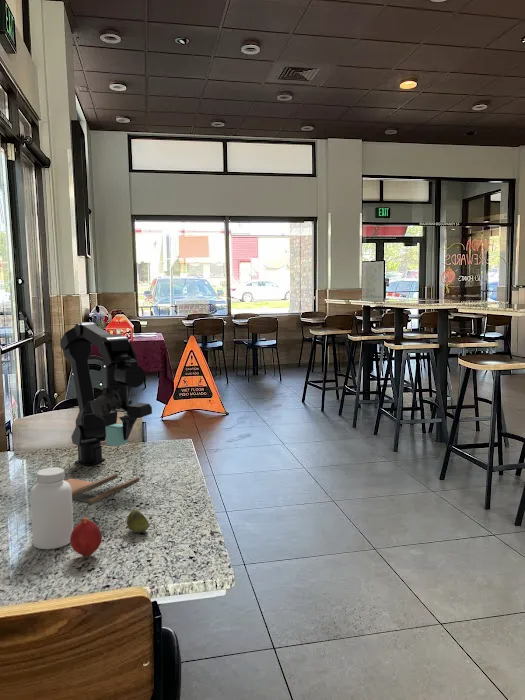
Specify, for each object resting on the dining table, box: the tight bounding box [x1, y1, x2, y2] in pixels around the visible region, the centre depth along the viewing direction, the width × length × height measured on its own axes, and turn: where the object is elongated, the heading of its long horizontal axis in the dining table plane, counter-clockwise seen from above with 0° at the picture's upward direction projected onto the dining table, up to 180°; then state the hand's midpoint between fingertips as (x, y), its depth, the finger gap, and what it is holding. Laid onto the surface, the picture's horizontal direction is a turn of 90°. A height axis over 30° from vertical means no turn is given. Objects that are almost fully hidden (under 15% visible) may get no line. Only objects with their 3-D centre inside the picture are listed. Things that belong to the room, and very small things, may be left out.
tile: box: [65, 478, 94, 492], centre depth 146 cm, size 8×8×1 cm
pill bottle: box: [29, 467, 74, 550], centre depth 114 cm, size 8×8×15 cm
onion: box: [69, 517, 103, 558], centre depth 108 cm, size 6×6×8 cm
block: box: [105, 423, 129, 447], centre depth 152 cm, size 4×4×5 cm
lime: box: [126, 509, 150, 533], centre depth 119 cm, size 4×5×5 cm
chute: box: [72, 473, 140, 504], centre depth 145 cm, size 8×18×1 cm, turn 154°
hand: (119, 439), depth 153 cm, fingers closed on block, 4 cm apart
